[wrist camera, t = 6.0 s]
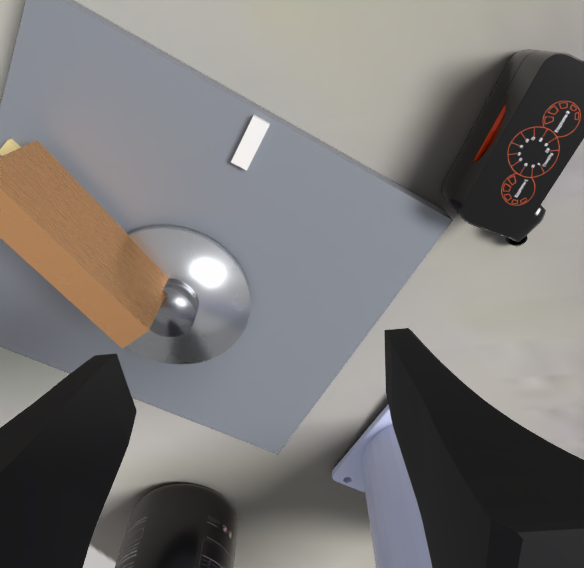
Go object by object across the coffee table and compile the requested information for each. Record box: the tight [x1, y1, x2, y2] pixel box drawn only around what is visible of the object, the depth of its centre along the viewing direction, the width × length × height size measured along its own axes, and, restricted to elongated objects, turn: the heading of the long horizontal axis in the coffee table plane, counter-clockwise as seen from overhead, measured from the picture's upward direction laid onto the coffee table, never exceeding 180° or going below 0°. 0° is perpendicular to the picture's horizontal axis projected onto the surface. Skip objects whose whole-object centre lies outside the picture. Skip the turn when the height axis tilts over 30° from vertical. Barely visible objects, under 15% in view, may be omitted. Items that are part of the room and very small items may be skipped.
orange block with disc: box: [0, 140, 251, 365], centre depth 19 cm, size 12×7×4 cm, turn 36°
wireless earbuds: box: [442, 49, 584, 247], centre depth 19 cm, size 5×7×3 cm, turn 159°
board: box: [0, 0, 453, 454], centre depth 22 cm, size 18×16×2 cm
